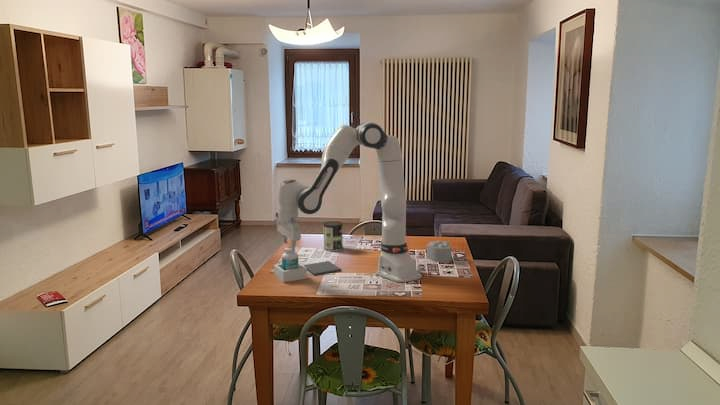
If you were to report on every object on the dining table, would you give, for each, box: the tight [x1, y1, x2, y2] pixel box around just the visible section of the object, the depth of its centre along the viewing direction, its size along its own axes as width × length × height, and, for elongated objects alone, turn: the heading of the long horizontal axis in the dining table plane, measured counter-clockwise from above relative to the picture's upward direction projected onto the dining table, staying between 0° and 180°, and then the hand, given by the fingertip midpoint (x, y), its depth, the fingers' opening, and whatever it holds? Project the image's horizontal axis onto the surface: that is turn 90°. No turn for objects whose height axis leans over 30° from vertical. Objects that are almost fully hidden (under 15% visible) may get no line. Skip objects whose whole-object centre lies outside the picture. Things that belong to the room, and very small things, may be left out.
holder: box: [273, 261, 308, 283], centre depth 255 cm, size 11×11×5 cm
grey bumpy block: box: [426, 239, 453, 264], centre depth 280 cm, size 10×13×9 cm
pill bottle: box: [281, 246, 299, 271], centre depth 254 cm, size 8×7×14 cm
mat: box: [302, 260, 342, 276], centre depth 266 cm, size 14×14×1 cm
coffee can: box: [322, 220, 343, 252], centre depth 298 cm, size 10×10×14 cm
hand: (288, 245), depth 252 cm, fingers open, 8 cm apart
